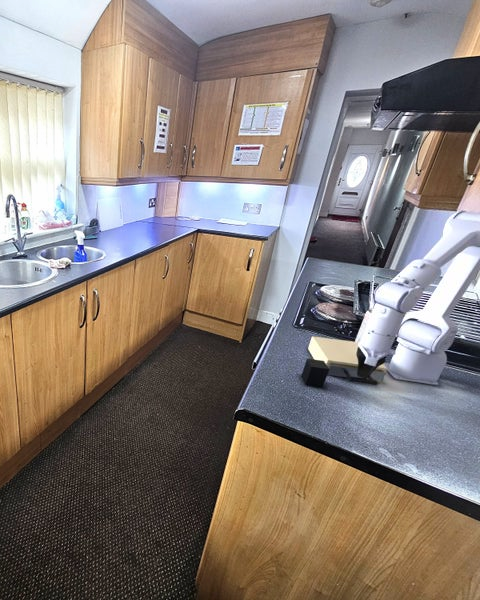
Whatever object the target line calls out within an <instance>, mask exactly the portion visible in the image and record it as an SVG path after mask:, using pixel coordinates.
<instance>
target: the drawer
mask: <svg viewBox="0 0 480 600" xmlns="http://www.w3.org/2000/svg"><path fill="white" fill-rule="evenodd" d="M328 368H329V372H328V375H329V374H333V375H332V376H336V375H339V376H338V377H342V376H346V377H345V378H347V382H350V383H354V384H355V383H357V384H363V385H370V386H378V384H379V383H383V381H384V378H385V376H386V373H387V372H386V373H385V372H384V371H379V370H376V369H375V370H374V371H373V372H372V374H371V375H370V376H369V377H368V378H367V379H365V378H362V377H359V376H357V368H358V367H356V366H349V365H342V364H336V363H329V366H328ZM377 381H378V382H377Z"/></svg>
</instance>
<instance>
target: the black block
mask: <svg viewBox="0 0 480 600" xmlns="http://www.w3.org/2000/svg"><path fill="white" fill-rule="evenodd" d="M328 372H329V368H328V366H327V365H326V363H325V361H322V360H315V359H314V358H306V361H305V364H304V366H303V370H302V373H301V377H300V378H301V379H302V381H303V383H304V385H305V386H308V387H315V388H321V389H323V388H324V385H325V382H326V380H327V377H328V375H329V374H328Z"/></svg>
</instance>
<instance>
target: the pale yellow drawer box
mask: <svg viewBox="0 0 480 600" xmlns="http://www.w3.org/2000/svg"><path fill="white" fill-rule="evenodd" d="M358 343H359V342H355V341H351V340H344V339H337V338H336V339H335V338H329V337H328V338H327V337H321V336H313V335H312V336H311V339H310V342H309V344H308V347H307V349H308V351H309V354H310V355H311V356H312V359H315V360H322V361H325V363H326V365H327V366H329V363H336V364H342V365H349V366H356V367H358V358H357V355H356V353H357V349H358V347H359V346H358ZM376 370H379V371H384V372H385V373H387V372H388V370H387V368H386V366H385V365H384V364H382V365H380V366H379V367H377V368H376ZM328 375H330V376H334V375H333V374H328ZM335 376H336V377H340V376H339V375H335ZM341 377H343V378H347V377H346V376H341ZM377 382H378V381H377ZM378 383H379V382H378Z"/></svg>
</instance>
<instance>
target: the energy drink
mask: <svg viewBox="0 0 480 600" xmlns="http://www.w3.org/2000/svg"><path fill="white" fill-rule="evenodd" d="M371 313H372V309H371V308H370V309H367V311H366V312H365V314H364V316H363V320H362V322H361V325H360V327H359V330H358V332H357V334H356V337H355V340H354V342H359V341H361V338H362V336H363V333H364V331H365V328H366V326H367V323H368V321H369V318H370V316H371Z"/></svg>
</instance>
